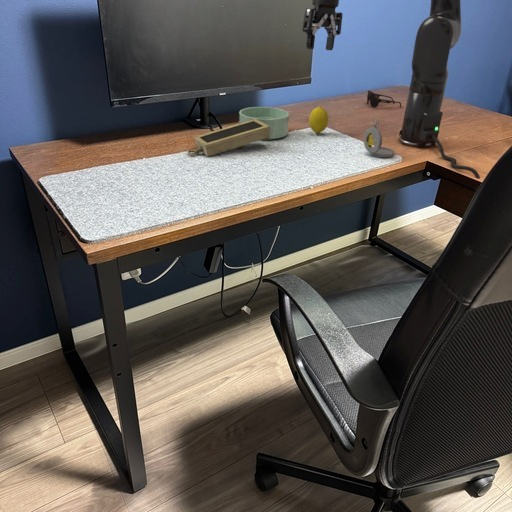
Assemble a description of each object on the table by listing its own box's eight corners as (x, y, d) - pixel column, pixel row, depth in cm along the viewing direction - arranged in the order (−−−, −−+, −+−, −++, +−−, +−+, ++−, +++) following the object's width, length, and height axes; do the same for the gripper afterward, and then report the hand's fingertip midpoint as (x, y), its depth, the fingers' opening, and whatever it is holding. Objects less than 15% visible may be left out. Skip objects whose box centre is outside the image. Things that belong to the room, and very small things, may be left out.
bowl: (296, 137, 140) (298, 116, 137) (253, 143, 134) (254, 121, 131) (271, 124, 151) (273, 105, 148) (230, 129, 145) (230, 109, 142)
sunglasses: (361, 101, 182) (365, 88, 180) (390, 105, 185) (394, 92, 183) (372, 108, 173) (376, 94, 171) (402, 113, 176) (406, 99, 174)
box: (273, 143, 130) (271, 125, 127) (196, 168, 122) (192, 149, 119) (257, 135, 136) (255, 117, 133) (184, 158, 128) (180, 140, 125)
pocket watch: (396, 153, 131) (403, 116, 126) (387, 162, 125) (394, 123, 120) (367, 147, 134) (373, 111, 129) (356, 155, 128) (362, 117, 123)
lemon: (326, 131, 146) (329, 104, 142) (326, 137, 142) (330, 109, 138) (307, 130, 147) (310, 103, 143) (307, 135, 142) (310, 108, 138)
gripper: (320, -16, 131) (313, 49, 138) (353, -10, 140) (344, 51, 147) (300, -16, 136) (294, 47, 143) (333, -10, 145) (325, 49, 152)
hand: (319, 49), depth 145 cm, fingers open, 8 cm apart
